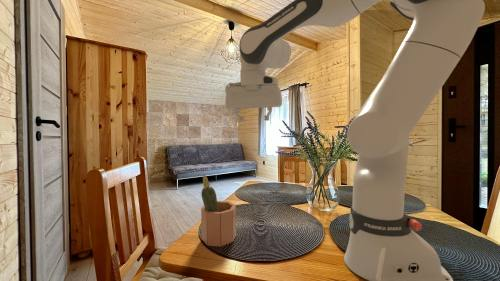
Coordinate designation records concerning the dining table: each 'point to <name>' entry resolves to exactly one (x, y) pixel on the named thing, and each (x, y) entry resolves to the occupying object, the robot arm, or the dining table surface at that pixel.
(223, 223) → the crock
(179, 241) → the dining table surface
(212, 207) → the vegetable
